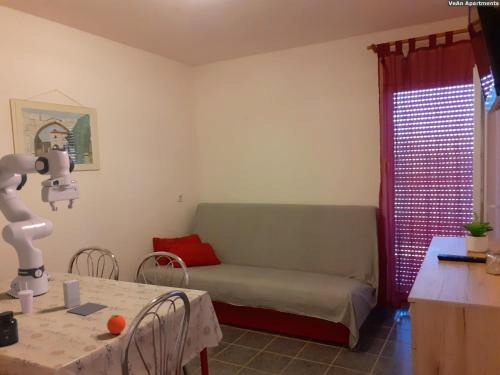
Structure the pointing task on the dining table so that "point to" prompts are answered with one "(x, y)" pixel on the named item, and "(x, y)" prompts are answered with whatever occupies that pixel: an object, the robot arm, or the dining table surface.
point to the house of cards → (47, 275)
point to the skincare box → (71, 293)
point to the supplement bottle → (8, 329)
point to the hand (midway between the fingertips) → (62, 209)
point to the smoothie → (26, 300)
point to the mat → (87, 309)
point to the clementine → (116, 324)
